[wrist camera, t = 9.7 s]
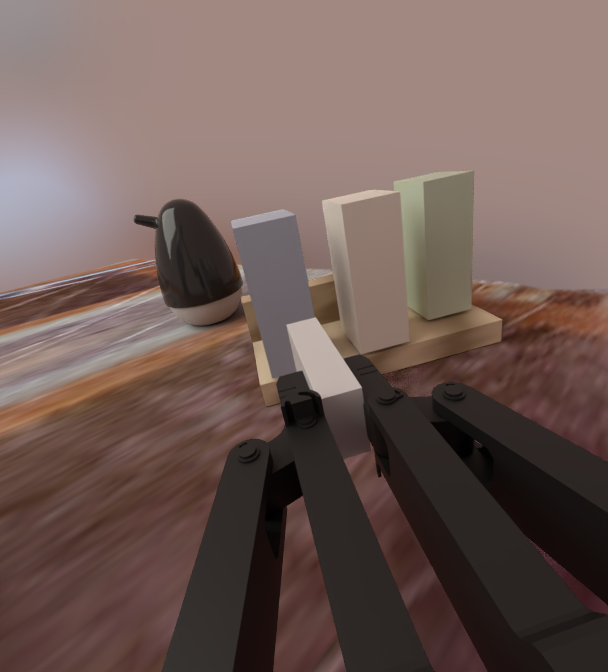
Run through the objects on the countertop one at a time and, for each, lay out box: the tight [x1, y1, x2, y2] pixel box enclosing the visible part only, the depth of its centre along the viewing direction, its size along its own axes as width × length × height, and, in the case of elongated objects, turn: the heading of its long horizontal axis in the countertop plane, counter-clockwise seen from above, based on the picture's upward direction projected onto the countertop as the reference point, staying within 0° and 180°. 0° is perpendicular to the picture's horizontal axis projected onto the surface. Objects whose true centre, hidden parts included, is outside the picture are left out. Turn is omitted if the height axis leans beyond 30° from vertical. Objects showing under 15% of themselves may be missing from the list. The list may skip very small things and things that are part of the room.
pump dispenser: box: [134, 199, 243, 326], centre depth 45 cm, size 10×10×15 cm
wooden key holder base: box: [241, 275, 502, 407], centre depth 31 cm, size 20×10×6 cm, turn 102°
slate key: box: [231, 209, 315, 378], centre depth 27 cm, size 4×5×11 cm
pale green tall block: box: [394, 171, 474, 320], centre depth 30 cm, size 4×5×11 cm
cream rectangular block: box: [322, 190, 410, 354], centre depth 27 cm, size 4×5×11 cm
